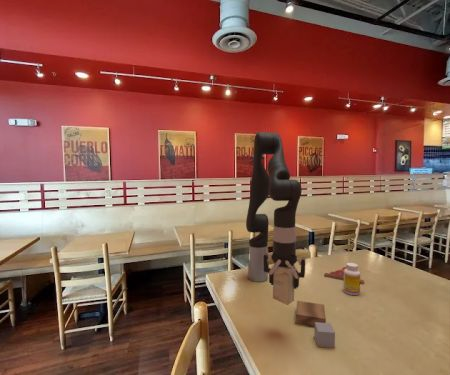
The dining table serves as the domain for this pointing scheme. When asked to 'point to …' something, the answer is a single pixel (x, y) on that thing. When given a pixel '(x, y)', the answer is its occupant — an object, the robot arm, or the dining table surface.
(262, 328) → the dining table surface
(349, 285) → the supplement bottle
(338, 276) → the pepperoni pizza slice
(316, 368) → the dining table surface
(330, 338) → the grey cube
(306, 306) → the walnut block
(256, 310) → the dining table surface
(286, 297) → the skincare box
